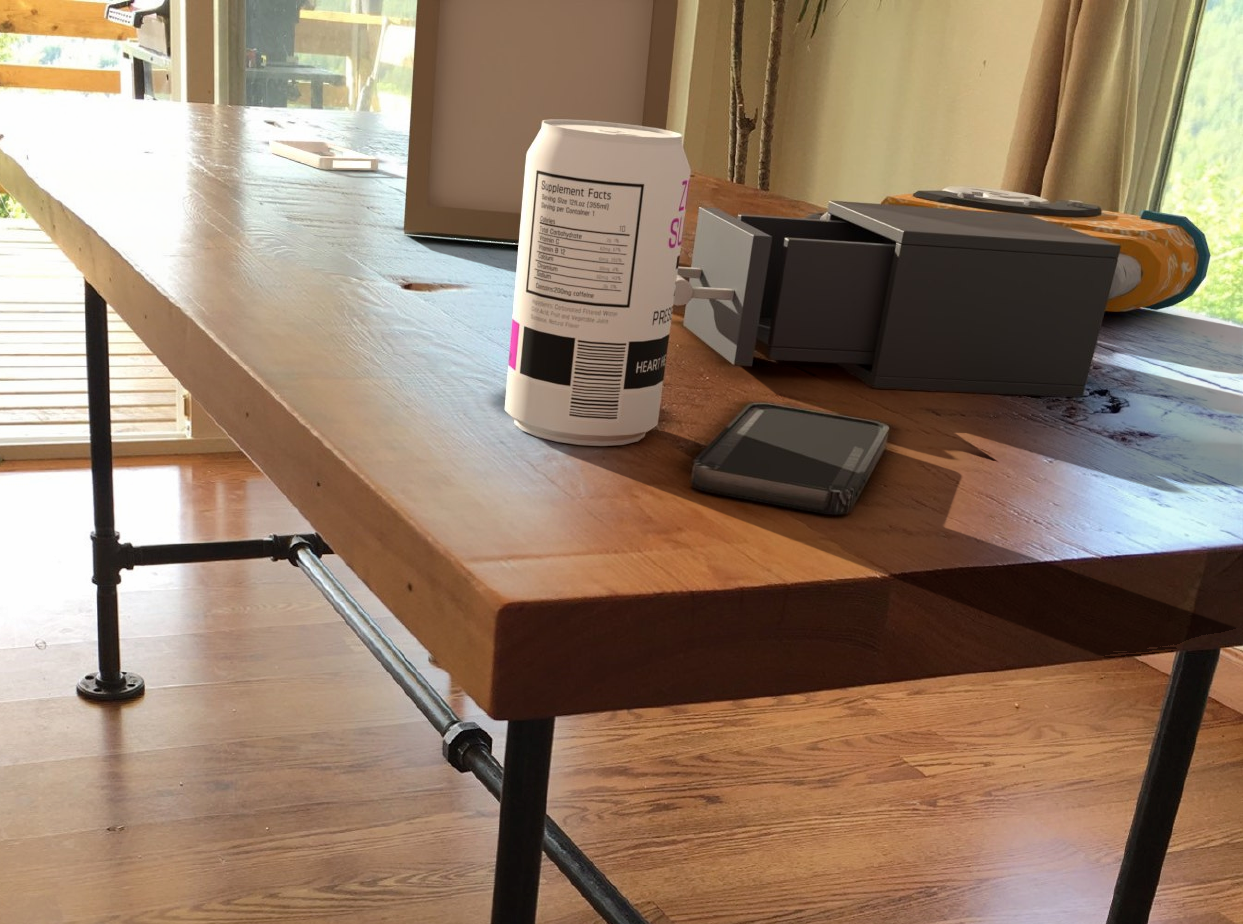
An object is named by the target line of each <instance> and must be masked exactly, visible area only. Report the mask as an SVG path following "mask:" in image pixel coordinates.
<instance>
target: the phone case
mask: <svg viewBox="0 0 1243 924" xmlns="http://www.w3.org/2000/svg"><path fill="white" fill-rule="evenodd" d="M331 149H332V150H336V151H339V152H341V153H343V154H339V153H335V152H332V151H331ZM269 153H271V154H274V155H277V156H280V157H282V158H285V159H289V160H291V161H295V162H297V163H301V164H303V165H307V166H310V167H313V168H316V169H319V170H326V171H327V170H328V171H375V172H376V171H379V158H378V157H375V156H372V155H368V154H366V153H362V152H358V151H355V150H352V149H349V148H346V147H341V146H339V145H335V144H332V143H328V142H324V141H305V140H304V141H303V140H272V139H271V140H269ZM323 154H324V155H323Z"/></svg>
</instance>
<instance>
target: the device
mask: <svg viewBox="0 0 1243 924" xmlns="http://www.w3.org/2000/svg"><path fill="white" fill-rule="evenodd" d="M880 204H887V205H901V206H915V207H930V208H944V209H958V210H972V211H987V212H1001V213H1015V214H1026V215H1029V216H1032V217H1035V218H1038V219H1042V220H1045V221H1048V222H1051V223H1054V224H1057V225H1060V226H1063V227H1066V228H1069V229H1072V230H1075V231H1078V232H1081V233H1084V234H1087V235H1091V236H1094V237H1097V238H1100V239H1103V240H1106V241H1109V242H1112V243H1115V244H1118V245H1121V249H1120V253H1119V257H1118V258H1117V259H1118V262H1117V266H1116V270H1115V274H1114V277H1113V281H1112V285H1111V289H1110V293H1109V297H1108V301H1107V305H1106V309H1105V312H1129V311H1133V310H1138V309H1142V308H1143V309H1147V310H1153V311H1158V310H1159V311H1160V310H1162V309H1167V308H1170V307H1174V306H1176V305H1178V304H1179V303H1181V302H1184V301H1186V300H1187V299H1188V298H1190V297H1192V296H1193V295H1194V294H1195V292H1196V291H1197V290H1198V289H1199V287H1200V285H1201V284H1202V283H1203V281H1204V280H1205V279H1206V277H1207V273H1208V269H1209V266H1210V265H1209V264H1210V261H1211V252H1210V248H1209V245H1208V242H1207V237H1206V235H1205V233H1204V232H1203V231H1202V230H1201V229H1200V228H1199V227H1198V226H1197V225H1195V223H1193V222H1192V221H1191V220H1190V219H1189V218H1188V217H1186V216H1184V215H1179V214H1172V213H1165V212H1159V211H1153V210H1148V209H1141V210H1140V215H1137V214H1129V213H1123V212H1117V211H1110V210H1104V209H1103V210H1102V208H1101V207H1100V205H1096V204H1089V203H1084V201H1081V200H1072V199H1069V200H1064V199H1059V200H1057V201H1055V202H1052V203H1050V201H1049V200H1048V199H1046V198H1044V197H1040V196H1037V195H1033V194H1028V193H1022V192H1016V191H1011V190H1005V189H998V188H988V187H976V186H960V185H959V186H952V185H951V186H947V187H945V188H943V189H942V190H917V191H915V192H914V193H913V192H912V193H906V194H905V193H904V194H896V195H887V196H886V197H885V198H884V199H883V200H882V201H881V202H880ZM827 213H828V212H827V211H824V212H813V213H810V214H808V215H806V216H805V217H804V218H805V219H820V220H826V216H827Z"/></svg>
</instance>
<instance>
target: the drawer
mask: <svg viewBox="0 0 1243 924" xmlns="http://www.w3.org/2000/svg"><path fill="white" fill-rule="evenodd" d="M693 243H694V244H693V251H692V259H691V265H690V266H689V267H688V266H678V273H677V280H676V288H675V296H674V303H673V306H676V307H682V306H684V305H685V310H684V317H683V324H682V325H683V327H685V328H686V329H687V330H689V331H690V332H691V333H692V334H694V335H695V336H696V337H697V338H698V339H700V340H701V341H702V342H704V343H705V344H706V345H707V346H708V347H709V348H711V349H713V350H714V351H715V352H716V353H718V354H719V355H720V356H721V357H723V358H724V359H725V360H726V361H728V362H729V363H730V364H732V365H733V366H734V367H736V366H737V367H753V362H754V356H755V351H756V352H758V353H759V354H761V355H762V356H763V357H765V358H766V359H767V360H769V361H786V362H788V361H789V362H803V363H804V362H806V363H807V362H808V363H823V364H824V363H827V364H836V363H845V364H866V365H873V361H874V356H875V351H876V346H877V341H878V335H879V330H880V325H881V320H882V315H883V309H884V304H885V299H886V294H887V289H888V283H889V278H890V273H891V268H892V263H893V258H894V252H895V247H896V243H898V242H895V241H893V240H891V239H888V238H886V237H884V236H881V235H879V234H877V233H874V232H872V231H870V230H867V229H865V228H863V227H860V226H858V225H855V224H853V223H851V222H848V221H835V220H820V219H805V217H789V216H775V215H760V214H759V215H758V214H744V213H738V214H737V217H735V216H734V215H733V216H732V215H730V214H729V213H727V212H725V211H723V210H721V209H719V208H718V207H709V206H699V207H698V214H697V222H696V229H695V235H694V242H693ZM686 279H688V280H686Z"/></svg>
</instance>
